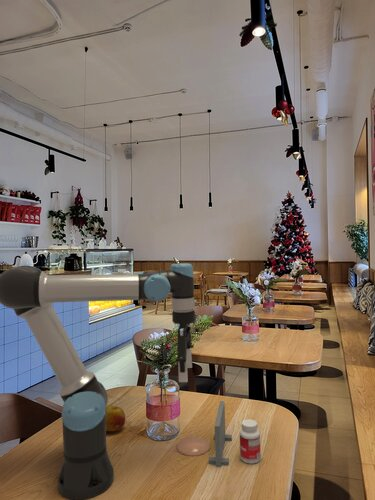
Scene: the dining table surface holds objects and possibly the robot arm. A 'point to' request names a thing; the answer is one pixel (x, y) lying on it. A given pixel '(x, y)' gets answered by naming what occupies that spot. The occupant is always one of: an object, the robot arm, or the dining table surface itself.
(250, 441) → the pill bottle
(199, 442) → the coaster
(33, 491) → the dining table surface
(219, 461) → the screen
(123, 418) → the fruit
